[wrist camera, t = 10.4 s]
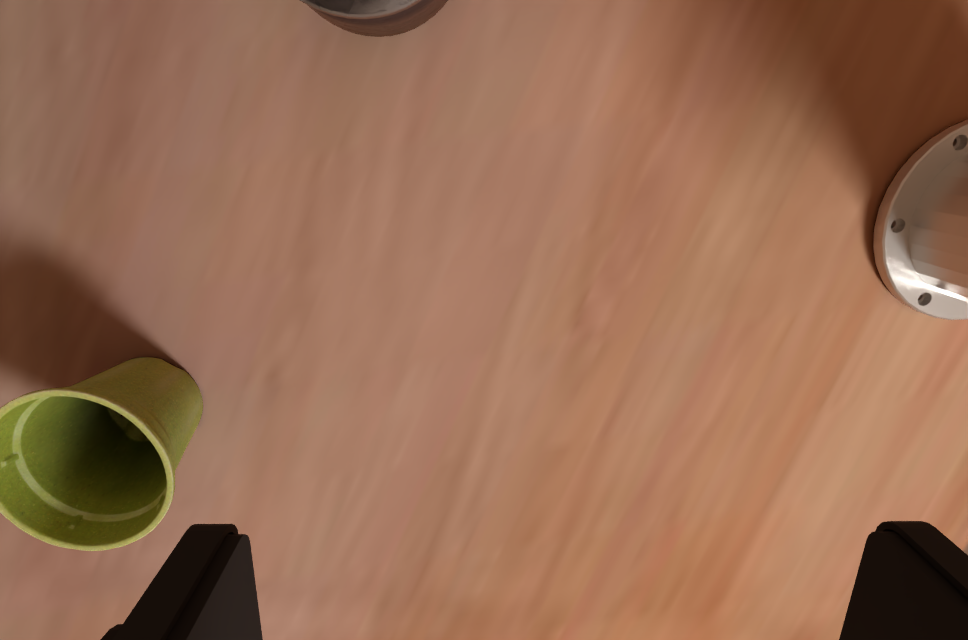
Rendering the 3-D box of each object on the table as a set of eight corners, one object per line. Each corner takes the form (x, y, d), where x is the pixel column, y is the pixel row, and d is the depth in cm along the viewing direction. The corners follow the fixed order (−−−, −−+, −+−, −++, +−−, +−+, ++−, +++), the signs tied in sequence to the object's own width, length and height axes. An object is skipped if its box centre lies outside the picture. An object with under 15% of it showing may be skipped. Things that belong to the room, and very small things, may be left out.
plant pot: (196, 314, 36) (122, 370, 28) (253, 443, 39) (200, 528, 31) (53, 351, 37) (-63, 417, 28) (119, 477, 40) (33, 569, 31)
